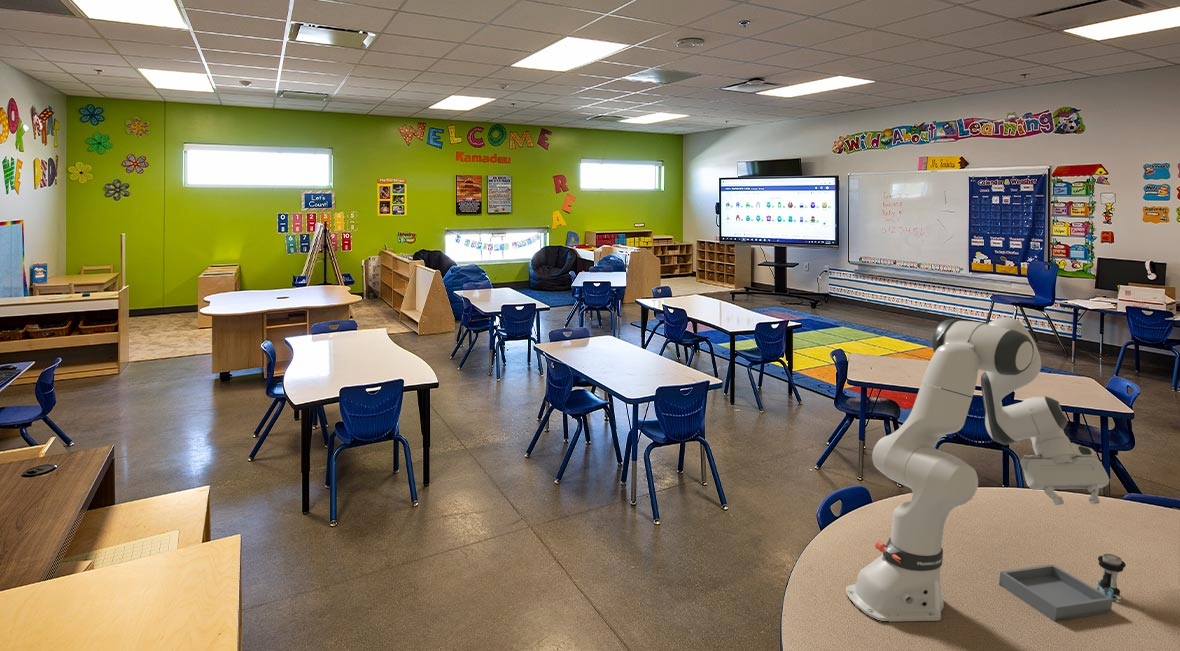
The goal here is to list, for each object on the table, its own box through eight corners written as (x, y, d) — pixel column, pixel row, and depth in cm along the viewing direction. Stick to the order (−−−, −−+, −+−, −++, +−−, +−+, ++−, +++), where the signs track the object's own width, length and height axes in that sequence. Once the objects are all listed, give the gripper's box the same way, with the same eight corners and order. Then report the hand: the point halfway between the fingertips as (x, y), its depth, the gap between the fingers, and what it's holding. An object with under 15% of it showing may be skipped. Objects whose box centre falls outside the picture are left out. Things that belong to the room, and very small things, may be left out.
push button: (1130, 604, 162) (1135, 566, 160) (1107, 604, 162) (1112, 565, 160) (1110, 589, 168) (1115, 552, 167) (1088, 588, 168) (1093, 551, 167)
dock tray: (1054, 621, 155) (1056, 607, 154) (998, 584, 170) (1000, 571, 170) (1110, 612, 158) (1112, 598, 158) (1051, 576, 174) (1052, 564, 173)
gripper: (1023, 450, 180) (1044, 500, 172) (1099, 449, 180) (1123, 498, 172) (1011, 460, 185) (1031, 509, 177) (1085, 458, 185) (1108, 507, 178)
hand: (1077, 504), depth 175 cm, fingers open, 8 cm apart
